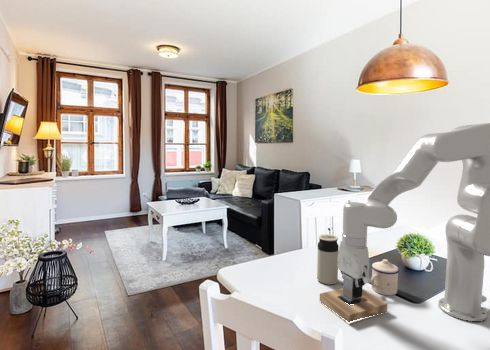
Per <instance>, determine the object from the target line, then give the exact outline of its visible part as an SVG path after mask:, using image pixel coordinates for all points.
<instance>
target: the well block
mask: <svg viewBox="0 0 490 350" xmlns="http://www.w3.org/2000/svg"><path fill="white" fill-rule="evenodd" d="M341 295H343V287H342V288H337V289H333V290H329V291H325V292H321V293H319V302H320V301H321V302H322V303H323V304H324V305H326V306H327V307H328V308H330V309H331V310H333V311H334V312H335V313H337V314H338V315H339V316H341V317H342V318H344V319H345V320H347V321H348V322H350V321H353V320H357V319H360V318H365V317H369V316H373V315H377V314H381V313H384V314H386V313H385V312H387V313H388V303H387V302H386V301H383V300H382V299H380V298H378V297H377V296H375V295H373V294H371V293H370V292H369V291H366V290H365V289H363V288H362V297H364V298H363V301H361V302H357V303H353V304H354V305H350V306H349V305H348V304H346V303H345V301H343V300H342V299H341ZM322 303H321V304H322ZM323 304H322V305H323ZM324 305H323V306H324ZM327 307H326V308H327ZM328 308H327V309H328ZM381 315H382V314H381Z"/></svg>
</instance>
